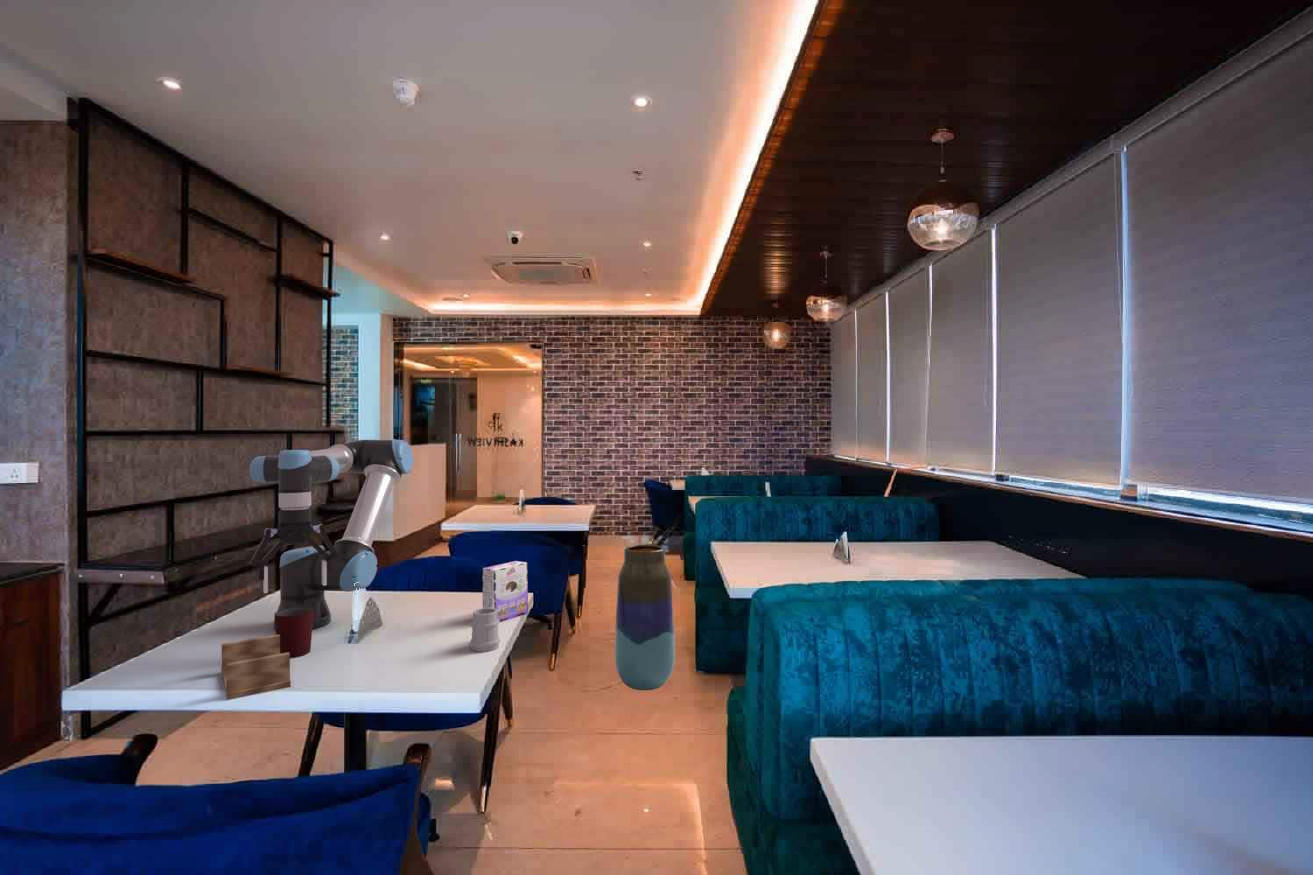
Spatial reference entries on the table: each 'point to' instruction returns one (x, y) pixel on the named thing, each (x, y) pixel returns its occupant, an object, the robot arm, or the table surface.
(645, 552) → the vase
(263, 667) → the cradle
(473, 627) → the mug
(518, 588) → the candy box
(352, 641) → the table surface
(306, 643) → the mug
